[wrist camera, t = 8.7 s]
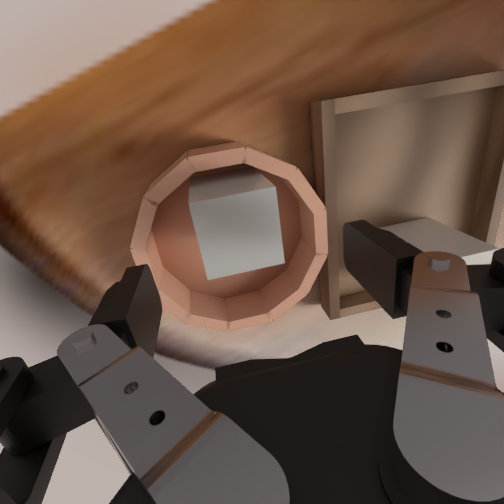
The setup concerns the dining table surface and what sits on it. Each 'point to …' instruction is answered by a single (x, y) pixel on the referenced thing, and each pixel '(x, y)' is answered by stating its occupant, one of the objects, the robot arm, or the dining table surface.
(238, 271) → the light grey block
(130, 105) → the dining table surface
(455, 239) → the white rectangular block
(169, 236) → the bowl
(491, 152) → the tray
